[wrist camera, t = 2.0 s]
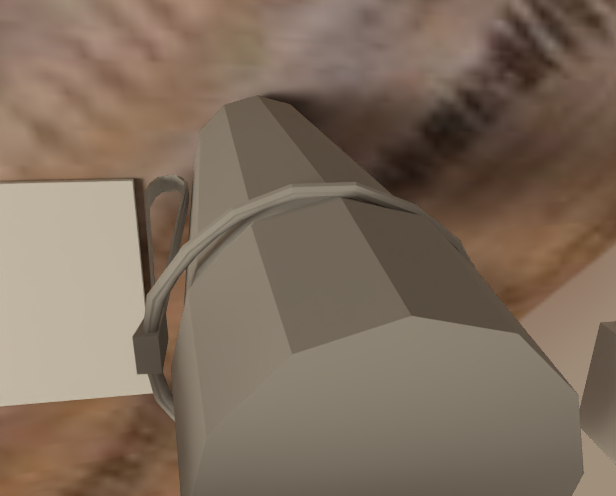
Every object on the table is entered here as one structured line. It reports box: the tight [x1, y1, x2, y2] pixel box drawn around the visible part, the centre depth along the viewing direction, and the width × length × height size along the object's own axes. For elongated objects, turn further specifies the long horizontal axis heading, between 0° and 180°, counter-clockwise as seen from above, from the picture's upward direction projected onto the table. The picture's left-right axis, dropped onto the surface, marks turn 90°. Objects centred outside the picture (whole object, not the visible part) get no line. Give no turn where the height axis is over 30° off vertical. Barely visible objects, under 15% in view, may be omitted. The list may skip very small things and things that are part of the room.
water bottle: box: [132, 96, 584, 496], centre depth 20 cm, size 9×8×25 cm
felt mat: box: [0, 178, 153, 406], centre depth 32 cm, size 14×14×1 cm
